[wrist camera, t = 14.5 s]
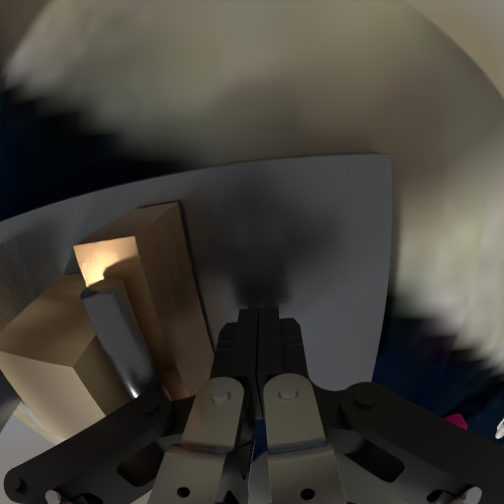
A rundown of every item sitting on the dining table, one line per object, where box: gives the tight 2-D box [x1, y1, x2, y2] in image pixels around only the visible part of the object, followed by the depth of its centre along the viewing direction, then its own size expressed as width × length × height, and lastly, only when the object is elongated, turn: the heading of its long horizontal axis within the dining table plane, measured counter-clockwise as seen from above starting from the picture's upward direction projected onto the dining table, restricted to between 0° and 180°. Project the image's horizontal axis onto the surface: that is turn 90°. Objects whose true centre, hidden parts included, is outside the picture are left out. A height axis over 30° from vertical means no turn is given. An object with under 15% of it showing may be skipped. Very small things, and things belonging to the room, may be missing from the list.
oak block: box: [0, 274, 132, 439], centre depth 9 cm, size 5×5×6 cm
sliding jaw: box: [73, 202, 214, 401], centre depth 9 cm, size 2×10×5 cm, turn 7°
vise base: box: [0, 152, 393, 391], centre depth 11 cm, size 20×12×6 cm, turn 97°
